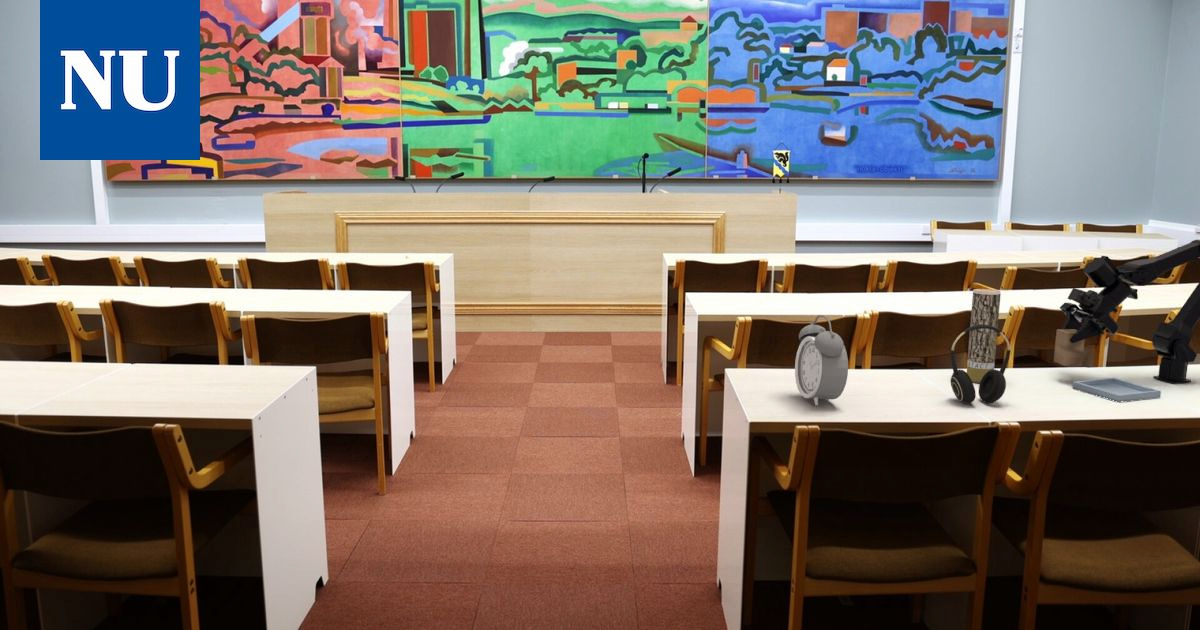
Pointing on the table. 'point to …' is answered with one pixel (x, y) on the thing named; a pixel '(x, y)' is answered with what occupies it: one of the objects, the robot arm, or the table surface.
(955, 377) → the headphones
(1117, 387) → the tray
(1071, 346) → the walnut block
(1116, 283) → the robot arm
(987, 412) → the table surface
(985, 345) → the paper tube
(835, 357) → the alarm clock
